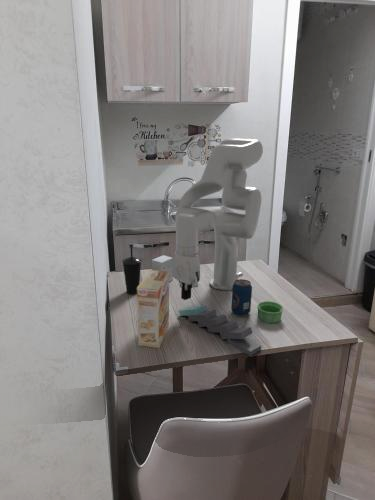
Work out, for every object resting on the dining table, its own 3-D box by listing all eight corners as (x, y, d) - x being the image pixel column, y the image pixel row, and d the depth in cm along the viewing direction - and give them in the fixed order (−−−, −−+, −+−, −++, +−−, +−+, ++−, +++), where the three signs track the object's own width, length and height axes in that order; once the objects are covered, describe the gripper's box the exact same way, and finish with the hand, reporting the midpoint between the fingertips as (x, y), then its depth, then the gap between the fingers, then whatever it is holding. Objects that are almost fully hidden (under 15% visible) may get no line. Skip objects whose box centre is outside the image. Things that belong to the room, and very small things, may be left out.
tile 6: (238, 333, 119) (261, 345, 112) (238, 338, 119) (260, 351, 113) (227, 338, 115) (250, 351, 109) (227, 344, 116) (250, 357, 110)
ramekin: (268, 326, 126) (269, 315, 125) (251, 315, 133) (251, 304, 132) (287, 320, 131) (288, 308, 129) (269, 309, 138) (270, 299, 136)
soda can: (227, 310, 137) (229, 280, 133) (244, 307, 139) (246, 277, 136) (236, 318, 131) (238, 287, 127) (253, 315, 133) (256, 284, 129)
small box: (163, 276, 166) (163, 254, 163) (173, 279, 163) (173, 257, 160) (151, 282, 160) (151, 259, 157) (161, 285, 157) (161, 262, 153)
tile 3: (208, 316, 128) (226, 314, 121) (209, 322, 128) (228, 320, 121) (197, 321, 125) (215, 319, 118) (199, 326, 125) (217, 325, 118)
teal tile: (189, 306, 135) (205, 305, 128) (190, 311, 135) (206, 310, 128) (178, 310, 132) (194, 309, 125) (180, 315, 132) (196, 315, 125)
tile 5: (230, 327, 121) (251, 326, 114) (231, 333, 121) (252, 333, 114) (219, 332, 118) (240, 332, 111) (221, 338, 118) (242, 338, 111)
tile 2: (198, 311, 132) (215, 309, 125) (199, 317, 132) (217, 315, 125) (187, 316, 128) (204, 314, 122) (189, 321, 128) (206, 320, 121)
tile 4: (217, 321, 125) (236, 320, 118) (218, 327, 125) (238, 326, 118) (207, 326, 122) (226, 326, 115) (208, 332, 122) (228, 332, 115)
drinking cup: (137, 297, 146) (135, 249, 140) (120, 294, 148) (117, 246, 142) (145, 289, 153) (144, 243, 147) (128, 286, 155) (127, 241, 149)
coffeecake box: (159, 348, 113) (159, 289, 106) (137, 346, 114) (135, 287, 107) (170, 324, 127) (170, 270, 120) (149, 322, 128) (148, 269, 122)
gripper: (164, 246, 128) (164, 294, 134) (193, 257, 118) (192, 309, 124) (180, 242, 133) (180, 288, 139) (210, 252, 123) (208, 302, 129)
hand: (186, 298), depth 131 cm, fingers closed
